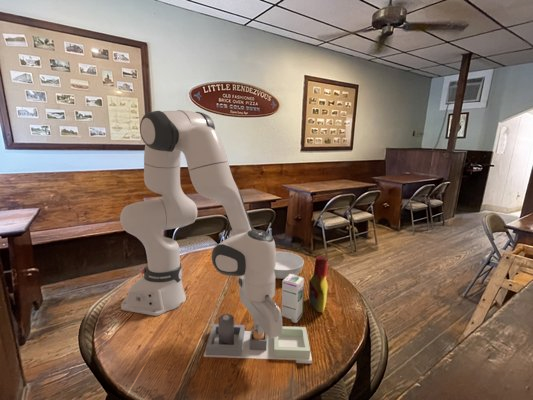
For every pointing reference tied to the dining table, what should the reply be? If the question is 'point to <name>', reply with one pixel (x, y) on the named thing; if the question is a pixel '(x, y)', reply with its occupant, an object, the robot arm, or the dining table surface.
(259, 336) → the brown egg
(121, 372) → the dining table surface
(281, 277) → the serving bowl
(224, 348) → the grey compartment tray
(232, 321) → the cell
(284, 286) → the syrup box
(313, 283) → the bottle
